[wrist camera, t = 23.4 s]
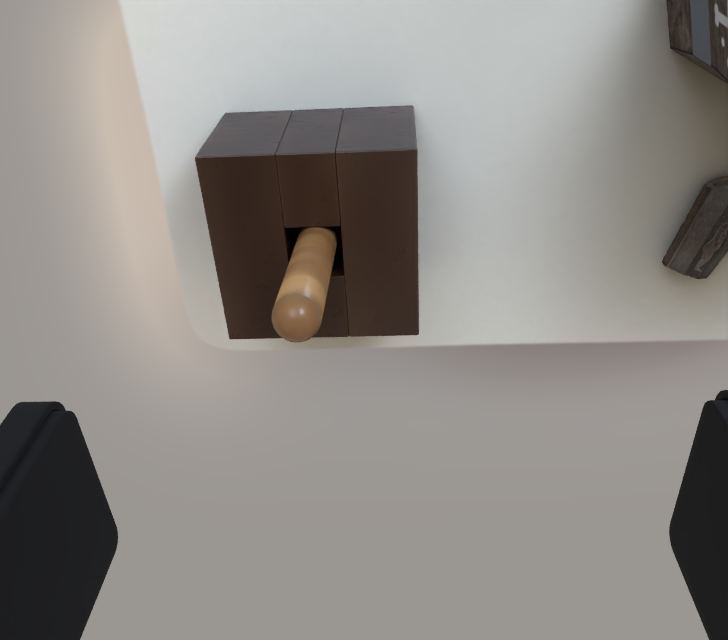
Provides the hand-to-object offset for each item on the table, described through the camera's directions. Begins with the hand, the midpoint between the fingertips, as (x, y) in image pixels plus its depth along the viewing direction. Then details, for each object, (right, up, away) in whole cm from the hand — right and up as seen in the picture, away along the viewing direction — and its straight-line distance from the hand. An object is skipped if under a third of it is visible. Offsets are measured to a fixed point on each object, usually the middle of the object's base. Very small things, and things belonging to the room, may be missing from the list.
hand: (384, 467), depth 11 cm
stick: (-2, +9, +30) cm, 32 cm away
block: (+20, +8, +30) cm, 37 cm away
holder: (-3, +9, +30) cm, 32 cm away
